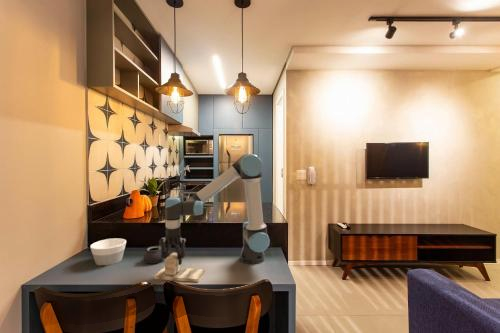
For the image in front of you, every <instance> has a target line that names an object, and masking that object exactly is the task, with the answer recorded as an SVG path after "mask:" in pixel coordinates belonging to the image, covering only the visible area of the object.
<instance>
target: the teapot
mask: <svg viewBox="0 0 500 333" xmlns="http://www.w3.org/2000/svg"><path fill="white" fill-rule="evenodd" d="M142 259H143V262H144V263H147V264H157V263H159V262H162V261H165V258H164V257H161V241H160V240H159V241H158V245H154V246H149V247H147V249H146V251H145V253H144V255H143V258H142Z"/></svg>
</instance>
